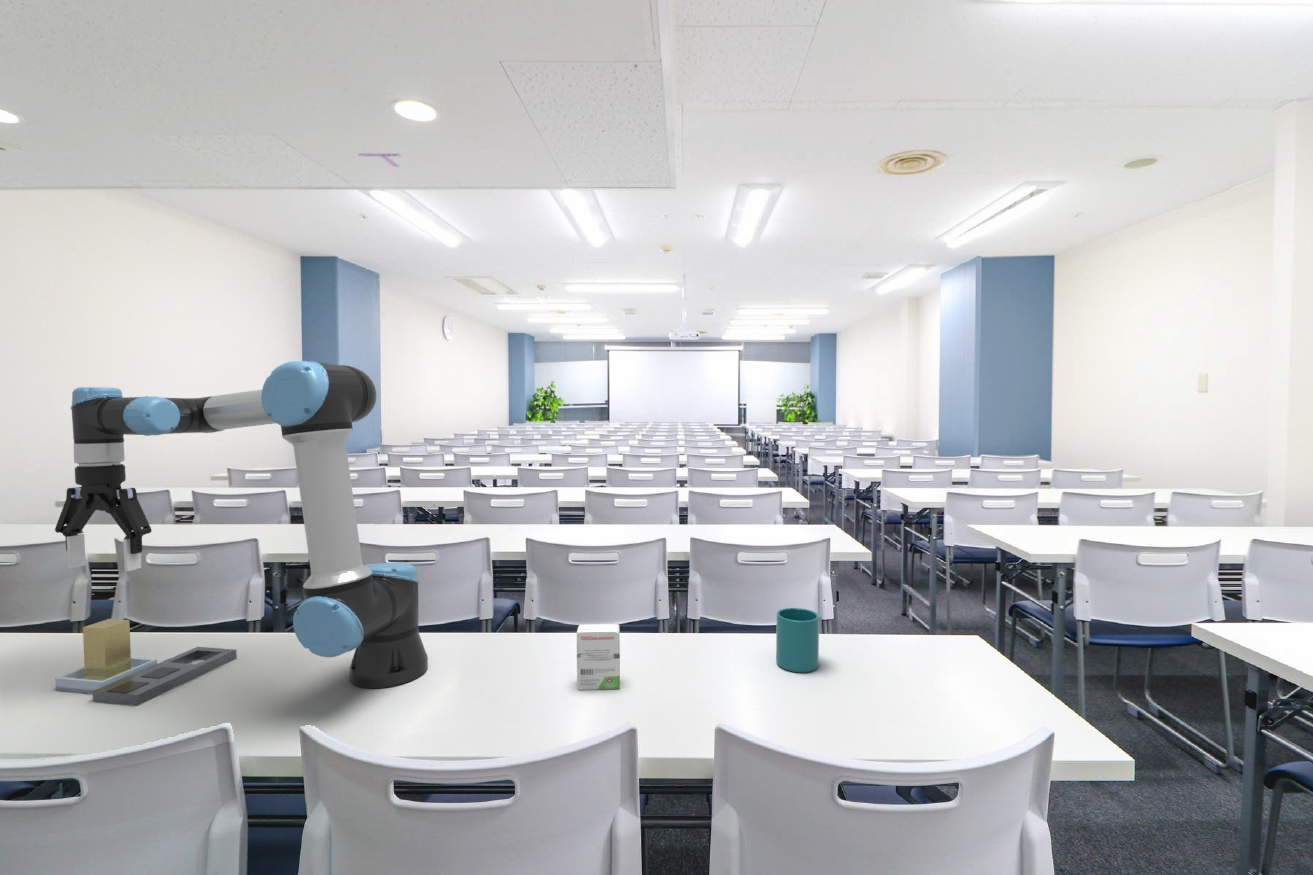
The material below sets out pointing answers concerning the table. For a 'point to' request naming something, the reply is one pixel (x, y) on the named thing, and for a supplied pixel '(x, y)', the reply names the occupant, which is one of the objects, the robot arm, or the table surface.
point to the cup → (797, 639)
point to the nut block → (106, 649)
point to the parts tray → (81, 685)
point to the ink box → (598, 657)
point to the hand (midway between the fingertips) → (104, 568)
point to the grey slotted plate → (163, 676)
